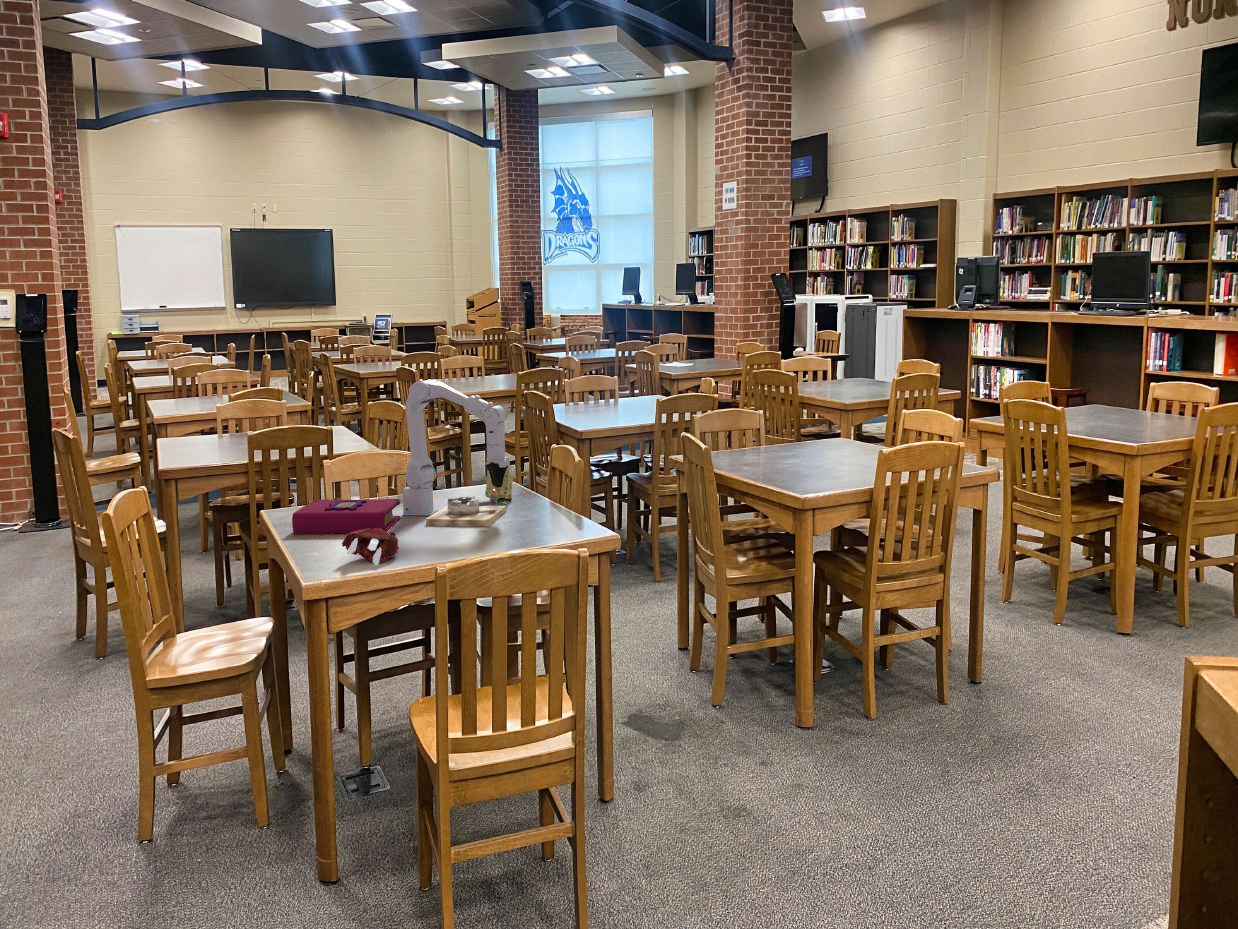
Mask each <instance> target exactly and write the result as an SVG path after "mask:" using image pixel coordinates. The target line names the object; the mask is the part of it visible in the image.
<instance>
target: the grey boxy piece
mask: <svg viewBox="0 0 1238 929" xmlns="http://www.w3.org/2000/svg"><path fill="white" fill-rule="evenodd" d="M497 495H498V492H497V490H495V489H492V490H491V491H490V496H491V499H490V500H483V501H480V500H479V499H476V497H475V495H473V496H472V495H467V496H460V497H455V496H454V497H453V496H452V497H448V498H447V505H448V514H451V515H471V514H476V513H478V512H479V511H480V510H479V506H492V505H494V506H498V505H497V504H498V499H497Z"/></svg>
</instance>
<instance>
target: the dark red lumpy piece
mask: <svg viewBox="0 0 1238 929" xmlns="http://www.w3.org/2000/svg"><path fill="white" fill-rule="evenodd" d="M396 535H397V534H396V532H390V533H388V532H385V531H384V530H382V529H381V528H378V529H375V528H371V529H370V528H367V529H362V530H358V531H353V532H351V533H349V534H346V536H345V538H344V539H343V541H342V542H341V545H342V547H345V549H346V550H347V552H346V554H348V555H354V556H356V555H359V556H361V557H362V558H363V559H365V560H366V561H368V560H369V561H371V562H373V564H374V565H375V566H378V565H379V564H381V563H382V564H383V563H385V562H388V561H389V560H390V557H391V558H392V557H395V555H396V554H398V551H399V549H400V547H399V545H398V544H399V539H398V538H397V537H396Z"/></svg>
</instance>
